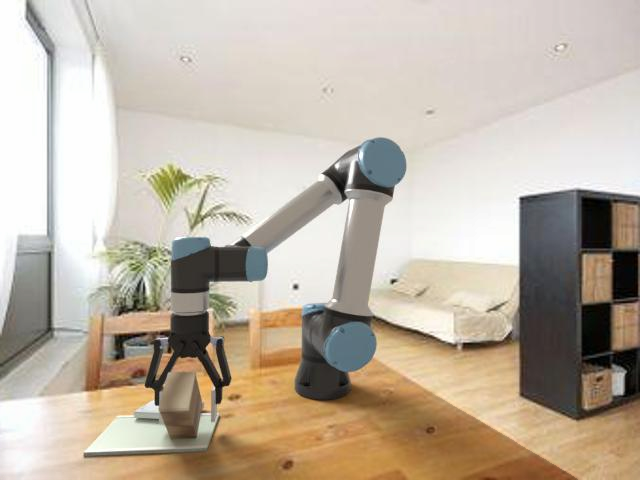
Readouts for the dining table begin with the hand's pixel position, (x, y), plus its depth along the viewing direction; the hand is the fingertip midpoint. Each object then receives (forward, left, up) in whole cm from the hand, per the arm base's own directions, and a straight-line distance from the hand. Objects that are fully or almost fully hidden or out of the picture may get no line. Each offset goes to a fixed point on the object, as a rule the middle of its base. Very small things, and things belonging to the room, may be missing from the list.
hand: (188, 419), depth 77 cm
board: (+6, 0, -3) cm, 7 cm away
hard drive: (+6, -8, -2) cm, 10 cm away
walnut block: (0, 0, 0) cm, 1 cm away
